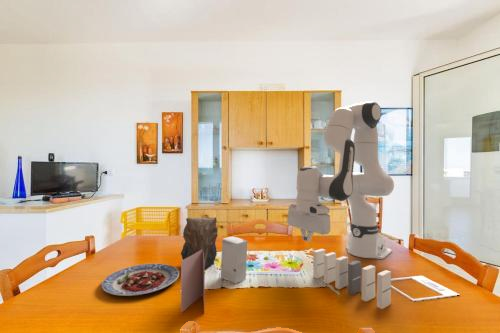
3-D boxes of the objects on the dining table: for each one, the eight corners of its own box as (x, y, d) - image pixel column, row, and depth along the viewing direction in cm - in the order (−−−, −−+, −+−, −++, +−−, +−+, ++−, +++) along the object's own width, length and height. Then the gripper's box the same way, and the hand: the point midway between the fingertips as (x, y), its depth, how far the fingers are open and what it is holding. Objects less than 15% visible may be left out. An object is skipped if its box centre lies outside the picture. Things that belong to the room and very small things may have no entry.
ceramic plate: (192, 273, 102) (192, 266, 102) (146, 308, 78) (146, 298, 78) (139, 265, 111) (139, 258, 111) (83, 293, 87) (83, 284, 86)
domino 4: (347, 293, 87) (348, 263, 87) (356, 289, 90) (356, 260, 90) (352, 295, 86) (352, 264, 86) (361, 291, 89) (361, 261, 88)
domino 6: (376, 306, 79) (377, 273, 79) (385, 301, 82) (385, 269, 82) (382, 309, 77) (382, 275, 77) (390, 304, 80) (391, 271, 80)
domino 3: (335, 287, 91) (335, 258, 91) (343, 283, 94) (344, 255, 94) (339, 289, 90) (339, 260, 90) (348, 285, 93) (348, 257, 93)
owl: (179, 265, 110) (179, 218, 110) (201, 257, 120) (201, 213, 120) (200, 273, 102) (200, 222, 102) (222, 263, 113) (222, 217, 113)
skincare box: (220, 277, 98) (220, 238, 98) (231, 272, 103) (231, 235, 103) (236, 284, 93) (236, 243, 93) (247, 278, 98) (247, 239, 97)
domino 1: (313, 277, 99) (313, 250, 99) (321, 273, 102) (322, 248, 102) (316, 278, 98) (316, 252, 98) (325, 275, 101) (325, 249, 101)
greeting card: (200, 293, 86) (200, 248, 86) (220, 298, 83) (220, 251, 83) (178, 312, 76) (178, 260, 75) (200, 317, 73) (200, 264, 73)
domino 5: (361, 299, 83) (361, 268, 83) (370, 295, 86) (370, 264, 86) (366, 301, 82) (366, 270, 81) (375, 297, 84) (375, 266, 84)
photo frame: (459, 293, 85) (413, 299, 82) (459, 297, 85) (413, 303, 82) (421, 275, 100) (380, 279, 96) (421, 278, 100) (380, 282, 96)
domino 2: (323, 281, 95) (323, 254, 95) (332, 278, 98) (332, 252, 98) (327, 283, 94) (327, 256, 94) (336, 280, 97) (336, 253, 97)
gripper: (283, 203, 111) (283, 236, 111) (322, 210, 95) (321, 248, 95) (294, 202, 115) (294, 234, 115) (333, 209, 98) (332, 246, 98)
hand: (306, 240), depth 105 cm, fingers closed
